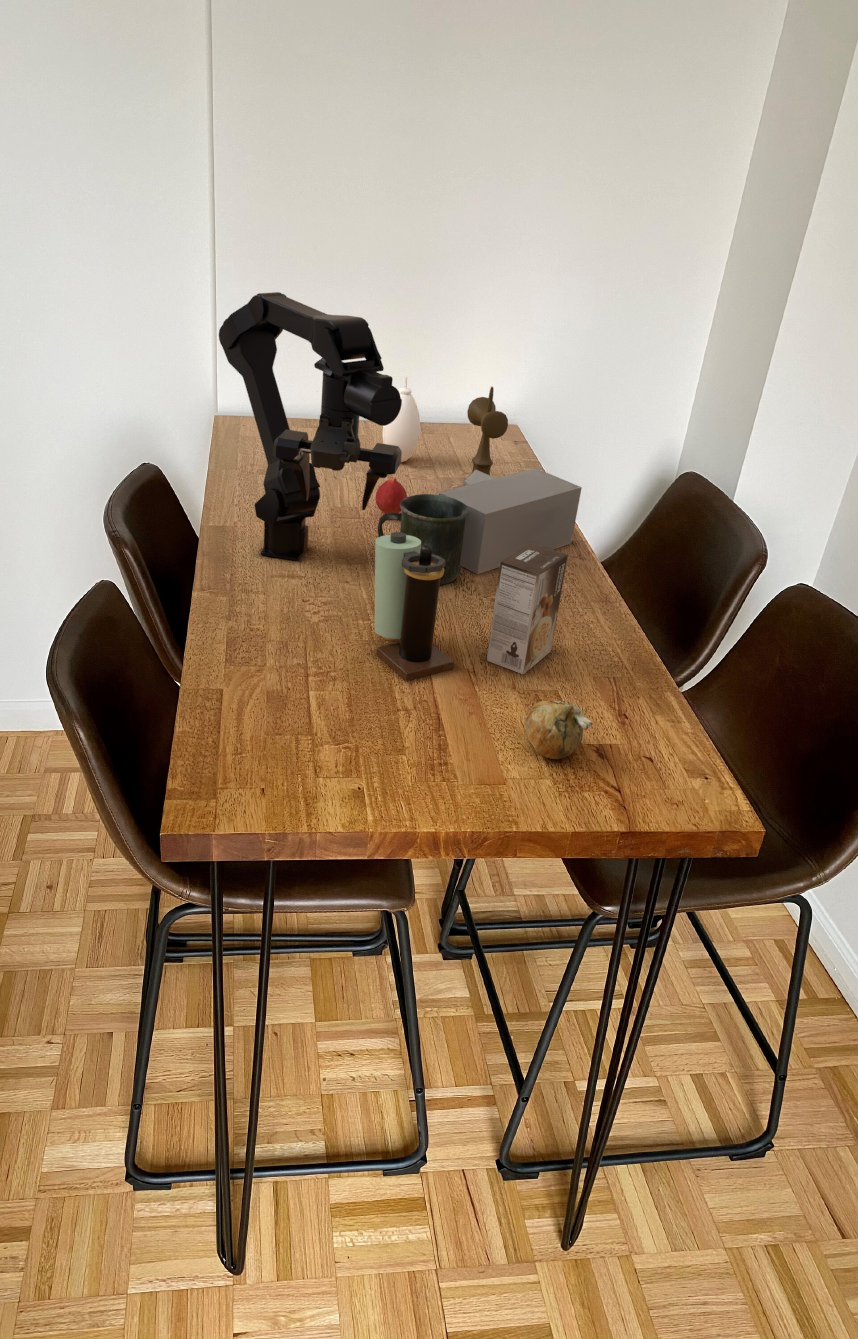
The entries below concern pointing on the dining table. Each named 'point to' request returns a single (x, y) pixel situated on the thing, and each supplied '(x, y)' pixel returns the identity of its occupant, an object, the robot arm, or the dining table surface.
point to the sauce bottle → (404, 426)
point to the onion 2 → (555, 728)
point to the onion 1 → (390, 496)
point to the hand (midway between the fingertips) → (334, 504)
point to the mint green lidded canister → (396, 579)
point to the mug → (434, 527)
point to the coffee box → (526, 607)
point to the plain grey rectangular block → (514, 515)
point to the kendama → (486, 429)
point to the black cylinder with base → (418, 626)
